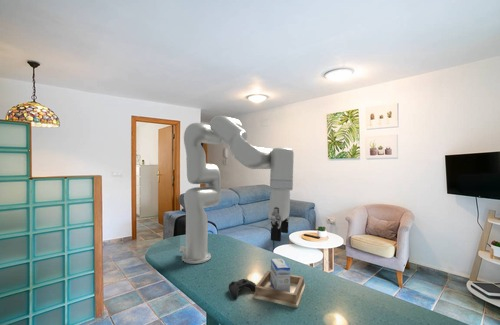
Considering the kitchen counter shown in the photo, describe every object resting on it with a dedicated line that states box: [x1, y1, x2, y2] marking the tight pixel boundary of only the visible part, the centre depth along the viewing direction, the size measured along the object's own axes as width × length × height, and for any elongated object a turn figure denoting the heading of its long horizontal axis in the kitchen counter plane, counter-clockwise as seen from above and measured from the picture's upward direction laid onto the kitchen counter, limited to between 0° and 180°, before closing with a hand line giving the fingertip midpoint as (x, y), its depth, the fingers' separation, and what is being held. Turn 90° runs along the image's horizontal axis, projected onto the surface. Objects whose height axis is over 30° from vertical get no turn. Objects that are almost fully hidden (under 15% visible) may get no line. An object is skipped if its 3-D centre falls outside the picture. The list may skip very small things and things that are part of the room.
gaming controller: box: [228, 278, 257, 300], centre depth 80 cm, size 10×5×6 cm
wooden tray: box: [252, 270, 306, 309], centre depth 80 cm, size 14×14×3 cm
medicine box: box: [270, 258, 291, 292], centre depth 80 cm, size 8×4×9 cm, turn 11°
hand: (279, 236), depth 81 cm, fingers open, 9 cm apart
